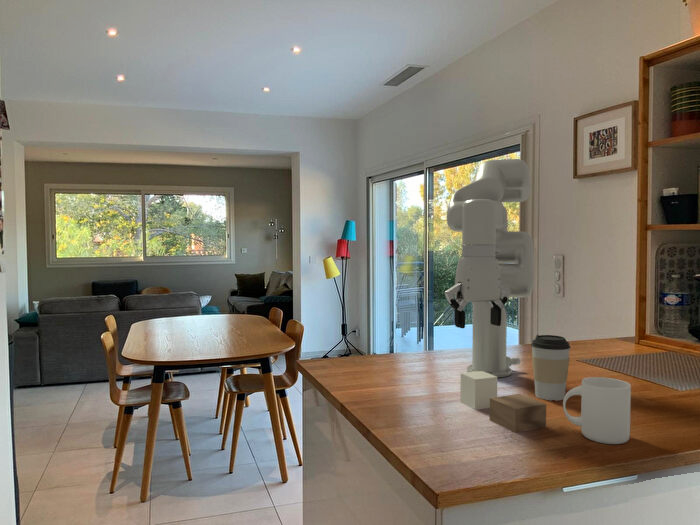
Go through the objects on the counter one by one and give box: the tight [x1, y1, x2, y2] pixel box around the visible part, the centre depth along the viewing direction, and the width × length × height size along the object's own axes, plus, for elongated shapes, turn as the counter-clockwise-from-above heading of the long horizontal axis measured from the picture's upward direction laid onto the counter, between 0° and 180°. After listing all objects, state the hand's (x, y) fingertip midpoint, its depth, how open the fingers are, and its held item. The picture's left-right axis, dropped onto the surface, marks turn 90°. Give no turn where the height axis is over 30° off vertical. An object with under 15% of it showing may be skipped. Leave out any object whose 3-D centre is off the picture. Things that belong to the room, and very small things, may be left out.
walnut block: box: [489, 393, 547, 434], centre depth 111 cm, size 8×8×5 cm
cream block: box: [459, 371, 498, 410], centre depth 124 cm, size 6×6×7 cm
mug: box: [562, 376, 632, 445], centre depth 104 cm, size 9×12×11 cm
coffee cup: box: [530, 334, 571, 401], centre depth 130 cm, size 9×9×15 cm
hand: (478, 326), depth 123 cm, fingers open, 9 cm apart
